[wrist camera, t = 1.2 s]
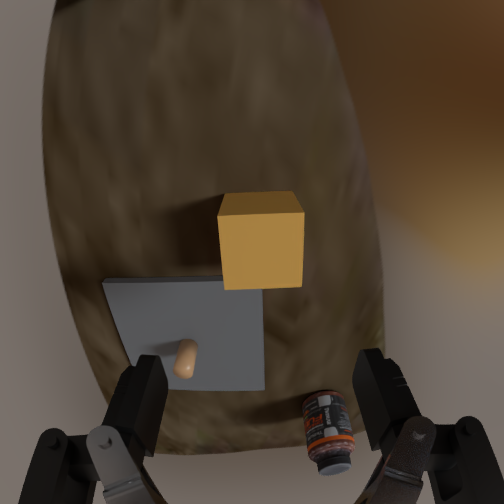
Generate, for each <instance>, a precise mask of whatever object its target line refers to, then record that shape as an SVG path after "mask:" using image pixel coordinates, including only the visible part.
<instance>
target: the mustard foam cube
mask: <svg viewBox="0 0 504 504" xmlns="http://www.w3.org/2000/svg"><path fill="white" fill-rule="evenodd" d="M217 217H218V228H219V239H220V250H221V260H222V270H223V280H224V290H240V289H266V288H288V287H302V271H303V244H304V211H303V209H302V208H301V206H300V204H299V202H298V200H297V199H296V197H295V195H294V193H293V192H292V191H269V192H244V193H225V195H224V198H223V201H222V204H221V207H220V210H219V213H218V216H217Z"/></svg>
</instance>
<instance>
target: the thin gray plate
mask: <svg viewBox="0 0 504 504" xmlns="http://www.w3.org/2000/svg"><path fill="white" fill-rule="evenodd" d="M102 285H103V288H104V291H105V294H106V298H107V301H108V304H109V307H110V309H111V312H112V315H113V318H114V321H115V324H116V326H117V329H118V332H119V334H120V337H121V340H122V342H123V345H124V347H125V350H126V352H127V355H128V357H129V360H130V362H131V364H132V366H136V364H137V361H138V358H139V356H140V355H141V354H145V355H159V356H160V358H161V361H162V364H163V367H164V370H165V373H166V376H167V379H168V389H178V390H201V391H253V390H265V383H264V341H263V304H262V289H240V290H224V280H223V276H193V277H151V278H105V280H104V281H103V282H102Z"/></svg>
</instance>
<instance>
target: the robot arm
mask: <svg viewBox="0 0 504 504" xmlns="http://www.w3.org/2000/svg"><path fill="white" fill-rule="evenodd" d="M352 383H353V388H354V392H355V395H356V398H357V401H358V405H359V408H360V411H361V415H362V418H363V422H364V425H365V428H366V432H367V435H368V439H369V442H370V446H371V450H372V451H374V450H379V449H381V452H382V456H381V458H380V460H379V462H378V464H377V466H376V468H375V470H374V472H373V474H372V475H371V477H370V479H369V481H368V483H367V485H366V486H365V488H364V490H363V492H362V493H361V495H360V496H359V497H358V499H357V500H356V502H355V503H354V504H416V502H417V500H418V497H419V495H420V493H421V490H422V487H423V481H422V480H421V478H422V475H423V472H424V471H427V472H428V475H429V479H430V483H431V487H432V491H433V496H434V500H435V504H504V480H503V477H502V474H501V471H500V468H499V465H498V463H497V460H496V457H495V454H494V452H493V450H492V447H491V444H490V442H489V440H488V437H487V435H486V432H485V430H484V428H483V425H482V424H481V422H480V421H479V420H478V419H476V418H475V417H472V416H466V417H462V418H461V419H459V420H458V422H457V423H456V424H452V425H451V424H450V425H438V424H434V423H433V422H432V421H431V420H430V419H428V418H427V417H424V416H422V415H421V413H420V411H419V409H418V407H417V404H416V402H415V400H414V398H413V395H412V393H411V391H410V389H409V387H408V386H407V382H406V380H405V378H404V377H403V374H402V372H401V370H400V367H399V366H398V365H397V364H396V363H395V362H394V361H393V360H391V358H389V359H384V357H383V355H382V352H381V350H380V349H379V348H372V349H364V350H360V352H359V355H358V358H357V362H356V365H355V369H354V372H353V377H352ZM167 394H168V379H167V376H166V373H165V370H164V367H163V364H162V361H161V358H160V356H159V355H145V354H141V355H140V356H139V358H138V361H137V364H136V366H129V367H128V368H127V369H126V370H125V371H124V372H123V373H122V374H121V376H120V378H119V381H118V383H117V386H116V388H115V391H114V394H113V396H112V399H111V401H110V404H109V407H108V409H107V412H106V415H105V417H104V420H103V422H102V425H101V426H98V427H96V428H94V429H93V430H91V431H90V433H89V434H87V435H77V436H67V435H66V434H65V433H64V432H63V431H62V430H60V429H57V428H51V429H48V430H46V431H44V432H43V433H42V434H41V436H40V438H39V441H38V443H37V446H36V449H35V451H34V454H33V457H32V460H31V463H30V466H29V469H28V472H27V475H26V478H25V482H24V485H23V488H22V492H21V495H20V499H19V503H18V504H92V503H93V497H94V492H95V487H96V483H97V481H101V482H102V484H103V486H104V491H103V496H104V499H105V501H106V503H107V504H168V503H167V502H166V501H165V499H164V498H163V496H162V495H161V493H160V492H159V490H158V489H157V487H156V485H155V484H154V482H153V481H152V479H151V477H150V476H149V474H148V472H147V471H146V469H145V467H144V466H143V460H144V456H148V457H153V456H154V451H155V447H156V442H157V437H158V433H159V428H160V424H161V420H162V415H163V411H164V407H165V403H166V399H167Z"/></svg>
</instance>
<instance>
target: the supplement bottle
mask: <svg viewBox="0 0 504 504" xmlns="http://www.w3.org/2000/svg"><path fill="white" fill-rule="evenodd" d="M302 409H303V410H302V412H303V418H304V426H305V433H306V441H307V449H308V456H309V458H310V459H311V460H312V461H314V462H316V463H317V464H318V465H317V466H318V472H319V474H321V475H326V476H329V475H335V474H339V473H342V472H345V471H347V470H348V469H349V468H351V461H350V457H349V456H350V454H351V453H352V452H353V451H354V448H355V443H354V438H353V434H352V430H351V425H350V421H349V417H348V413H347V409H346V405H345V401H344V398H343V396H342V395H341V394H340V393H338V392H335V391H321V392H318V393H315V394H313V395H311V396H309V397H308V398H307V399H306V400H305V401H304V402H303V405H302Z"/></svg>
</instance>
